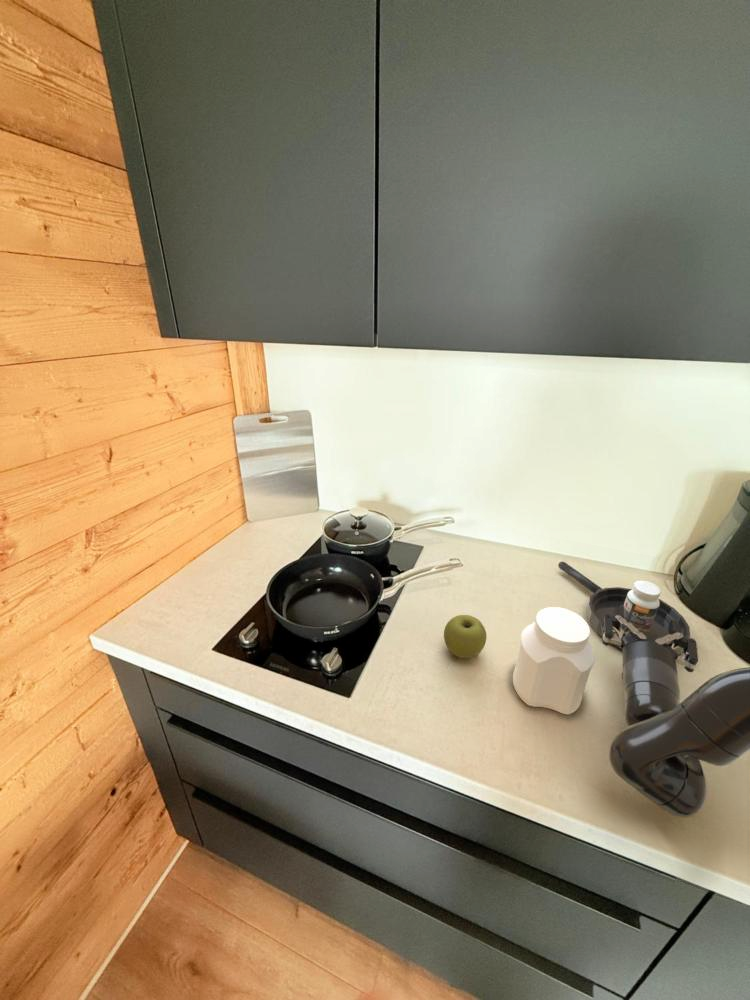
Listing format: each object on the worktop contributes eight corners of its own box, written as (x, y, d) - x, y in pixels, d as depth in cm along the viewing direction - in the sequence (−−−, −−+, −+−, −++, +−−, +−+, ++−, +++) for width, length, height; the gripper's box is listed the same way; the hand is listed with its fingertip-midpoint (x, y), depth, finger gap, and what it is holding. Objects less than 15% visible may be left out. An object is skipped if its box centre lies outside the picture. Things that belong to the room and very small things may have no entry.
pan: (626, 590, 100) (630, 579, 98) (705, 644, 85) (711, 632, 83) (567, 610, 94) (570, 599, 92) (641, 672, 79) (646, 659, 77)
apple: (483, 669, 79) (488, 641, 76) (440, 662, 81) (443, 634, 78) (483, 640, 86) (487, 613, 83) (443, 634, 87) (446, 607, 84)
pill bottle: (628, 635, 86) (642, 597, 82) (613, 616, 91) (625, 579, 87) (655, 634, 86) (670, 596, 82) (638, 615, 92) (652, 578, 87)
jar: (577, 674, 78) (596, 611, 71) (584, 719, 70) (607, 653, 63) (512, 660, 81) (524, 598, 74) (512, 702, 73) (526, 637, 66)
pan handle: (561, 565, 107) (563, 559, 106) (604, 596, 96) (606, 589, 95) (555, 567, 106) (557, 561, 105) (598, 599, 95) (600, 591, 94)
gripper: (712, 678, 63) (697, 612, 76) (605, 644, 69) (608, 589, 82) (695, 712, 66) (683, 643, 79) (595, 677, 72) (599, 618, 85)
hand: (645, 615), depth 80 cm, fingers open, 8 cm apart
